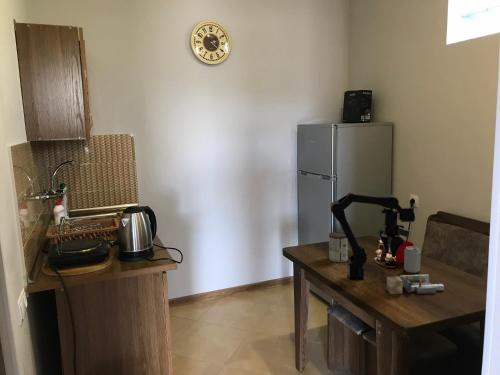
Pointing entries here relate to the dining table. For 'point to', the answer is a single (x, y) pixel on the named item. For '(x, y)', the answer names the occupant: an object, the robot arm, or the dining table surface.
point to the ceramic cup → (402, 251)
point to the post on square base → (409, 287)
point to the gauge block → (394, 285)
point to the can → (412, 259)
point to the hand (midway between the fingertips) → (390, 253)
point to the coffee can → (338, 247)
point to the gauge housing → (415, 281)
